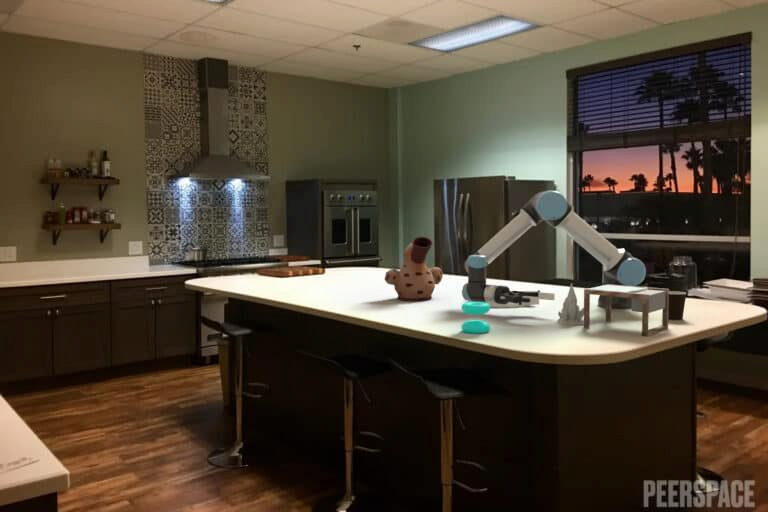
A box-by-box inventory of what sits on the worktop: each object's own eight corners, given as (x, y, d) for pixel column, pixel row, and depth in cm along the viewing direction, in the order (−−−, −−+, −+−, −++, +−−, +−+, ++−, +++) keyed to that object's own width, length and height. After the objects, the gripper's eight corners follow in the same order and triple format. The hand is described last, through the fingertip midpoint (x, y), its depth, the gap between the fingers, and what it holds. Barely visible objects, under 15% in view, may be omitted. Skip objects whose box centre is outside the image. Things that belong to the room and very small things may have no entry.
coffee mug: (684, 321, 244) (684, 294, 243) (659, 319, 249) (659, 293, 248) (688, 316, 254) (688, 291, 253) (664, 314, 258) (664, 289, 258)
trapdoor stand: (583, 328, 233) (584, 289, 232) (607, 321, 246) (607, 284, 245) (646, 336, 217) (647, 294, 216) (668, 328, 231) (668, 289, 230)
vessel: (431, 294, 326) (430, 234, 324) (455, 300, 306) (454, 236, 304) (379, 298, 313) (378, 236, 311) (400, 304, 294) (400, 238, 291)
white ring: (538, 307, 283) (538, 296, 282) (473, 308, 283) (473, 297, 283) (525, 298, 311) (525, 288, 310) (466, 299, 311) (466, 289, 311)
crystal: (579, 319, 252) (579, 280, 251) (588, 325, 239) (588, 284, 238) (553, 319, 253) (553, 280, 251) (560, 325, 239) (561, 284, 238)
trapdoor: (587, 306, 234) (587, 288, 233) (606, 302, 244) (606, 284, 244) (648, 313, 218) (648, 293, 218) (665, 307, 229) (666, 288, 228)
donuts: (480, 300, 235) (495, 304, 226) (480, 327, 236) (495, 332, 227) (456, 302, 232) (470, 306, 222) (456, 330, 232) (470, 335, 223)
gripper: (512, 300, 275) (560, 304, 261) (482, 307, 255) (531, 312, 242) (512, 282, 274) (560, 285, 261) (481, 288, 255) (531, 292, 241)
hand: (546, 298), depth 251 cm, fingers open, 13 cm apart
